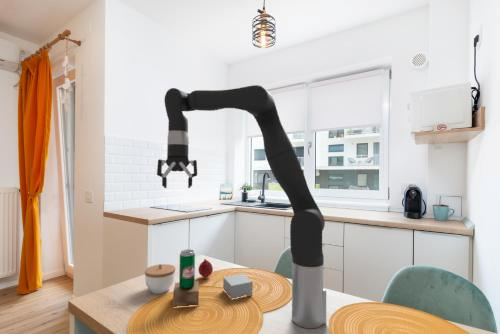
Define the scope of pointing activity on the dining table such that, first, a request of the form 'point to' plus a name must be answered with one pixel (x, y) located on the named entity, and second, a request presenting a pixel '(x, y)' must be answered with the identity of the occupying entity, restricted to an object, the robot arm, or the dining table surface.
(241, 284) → the grey block
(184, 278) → the soda can
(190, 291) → the walnut block
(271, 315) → the dining table surface
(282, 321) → the dining table surface
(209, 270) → the onion
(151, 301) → the dining table surface
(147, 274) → the lidded jar
